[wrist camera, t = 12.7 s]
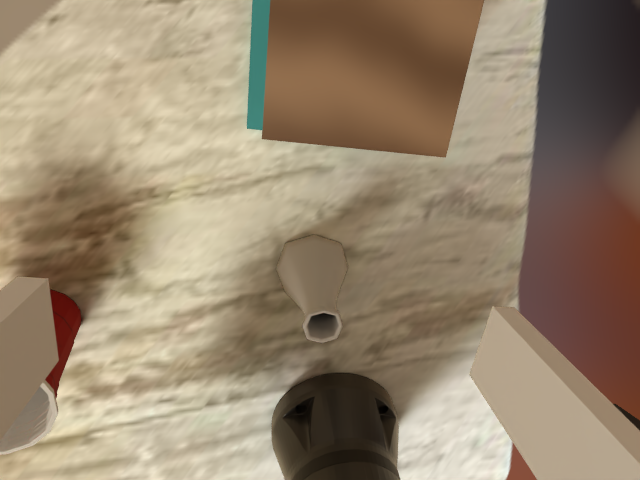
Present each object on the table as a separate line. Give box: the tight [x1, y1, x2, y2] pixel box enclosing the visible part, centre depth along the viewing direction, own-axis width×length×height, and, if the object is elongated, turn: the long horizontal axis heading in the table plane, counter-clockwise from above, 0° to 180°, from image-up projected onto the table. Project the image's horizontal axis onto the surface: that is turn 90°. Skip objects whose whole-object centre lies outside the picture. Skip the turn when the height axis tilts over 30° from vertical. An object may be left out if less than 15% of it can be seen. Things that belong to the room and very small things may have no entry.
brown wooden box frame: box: [262, 0, 484, 157], centre depth 27 cm, size 11×11×12 cm
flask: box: [276, 235, 348, 343], centre depth 36 cm, size 7×7×10 cm
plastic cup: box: [0, 290, 81, 454], centre depth 35 cm, size 11×11×12 cm
